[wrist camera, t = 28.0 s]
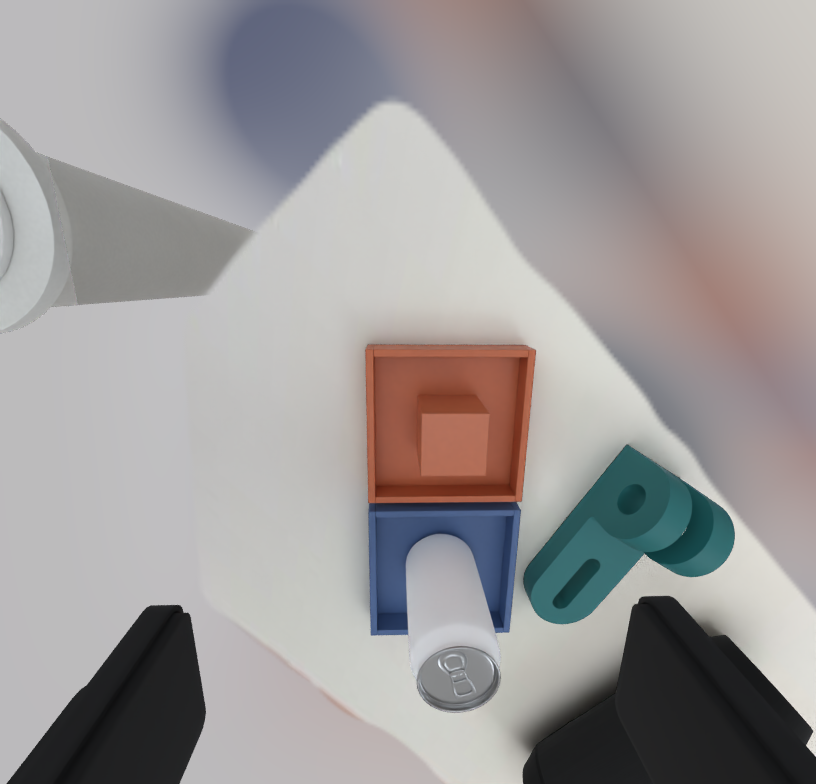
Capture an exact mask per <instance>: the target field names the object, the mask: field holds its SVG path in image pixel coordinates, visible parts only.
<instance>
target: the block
mask: <svg viewBox="0 0 816 784" xmlns="http://www.w3.org/2000/svg"><path fill="white" fill-rule="evenodd" d="M489 422H490V413H489V412H488V410H487V409H486V408H485V406H484V405H483V404H482V402H481V401H480V399H479V398H478V397H477V395H418V408H417V454H418V462H419V469H420V476H486V467H487V452H488V437H489Z"/></svg>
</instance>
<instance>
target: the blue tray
mask: <svg viewBox="0 0 816 784" xmlns="http://www.w3.org/2000/svg"><path fill="white" fill-rule="evenodd" d="M520 514H521V510H520V508H519V506H518V504H517V503H516V502H434V503H369V565H370V618H371V635H408V615H407V589H406V559H407V555H408V553H409V551H410V550H411V548H412V547H413V546H414V545H415V544H416V543H417V542H418V541H420V540H422V539H423V538H425V537H428V536H430V535H434V534H448V535H452V536H455V537H457V538H459V539H461V540H462V541H464V542H465V543H466V544H467V545H468V546H469V548H470V550H471V552H472V554H473V557H474V560H475V563H476V567H477V570H478V574H479V577H480V580H481V584H482V587H483V591H484V594H485V598H486V601H487V605H488V608H489V612H490V615H491V619H492V622H493V626H494V629H495V633H503V632H509V630H510V619H511V609H512V598H513V588H514V577H515V566H516V556H517V545H518V535H519V524H520Z"/></svg>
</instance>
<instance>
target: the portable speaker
mask: <svg viewBox="0 0 816 784" xmlns="http://www.w3.org/2000/svg"><path fill="white" fill-rule="evenodd" d="M710 638H711V639H712V641H713V642H714V643H715V644H716V645H717V646H718V647H719V648H720V650H721V651H722V652H723V653H724V654H725V655H726V656H727V657H728V659H729V660H730V661H731V662H732V663H733V664H734V665H735V666H736V668H737V669H738V670H739V671H740V672H741V673H742V674H743V676H744V677H745V678H746V679H747V680H748V681H749V682H750V683H751V685H752V686H753V687H754V688H755V689H756V690H757V691H758V692H759V694H760V695H761V696H762V697H763V698H764V699H765V700H766V701H767V703H768V704H769V705H770V706H771V707H772V708H773V709H774V710H775V712H776V713H777V714H778V715H779V716H780V717H781V718H782V719H783V721H784V722H785V723H786V724H787V725H788V726H789V727H790V728H791V730H792V731H793V732H794V733H795V734H796V735H797V736H798V737H799V739H800V740H801V741H802V742H803V743H804V744H805V745H806V744H807V742H808V741H809V739H810V737H811V735H812V733H813V730H812V729H811V727H810V726H809V725H808V724H807V722H806V721H805V720H804V719H803V718H802V717H801V716H800V714H799V713H798V712H797V711H796V710H795V709H794V708H793V707H792V705H791V704H790V703H789V702H788V701H787V700H786V699H785V698H784V697H783V695H782V694H781V693H780V692H779V691H778V690H777V689H776V688H775V687H774V686H773V684H772V683H771V682H770V681H769V680H768V679H767V678H766V677H765V676H764V675H763V674H762V673H761V671H760V670H759V669H758V668H757V667H756V666H755V665H754V664H753V663H752V662H751V661H750V660H749V659H748V657H747V656H746V655H745V654H744V653H743V652H742V651H741V650H740V649H739V648H738V647H737V646H736V645H735V644H734V643H733V642H732V641H731V640H730V639H729V638H728V637H727V636H726V635H721V636H715V637H710ZM615 695H616V693H615V694H613V695H612V696H610V697H609V698H607V699H606V700H604V701H603V702H601V703H599V704H598V705H596V706H595V707H593V708H592V709H590V710H589V711H587V712H586V713H584V714H583V715H581V716H580V717H578V718H576V719H574V720H573V721H571V722H570V723H568V724H567V725H565V726H564V727H562V728H561V729H559V730H558V731H556V732H555V733H553V734H552V735H550V736H548V737H547V738H545V739H544V740H542V741H541V742H539V743H538V744H537V745H536V747H535V748H534V750H533V752H532V753H531V755H530V757H529V758H528V760H527V762H526V764H525V765H524V768H523V784H653V783H652V781H651V779H650V777H649V775H648V773H647V772H646V770H645V768H644V766H643V764H642V762H641V760H640V758H639V756H638V754H637V752H636V750H635V748H634V746H633V744H632V742H631V741H630V739H629V737H628V735H627V733H626V731H625V729H624V727H623V725H622V723H621V721H620V719H619V717H618V714H617V711H616V706H615Z"/></svg>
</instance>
